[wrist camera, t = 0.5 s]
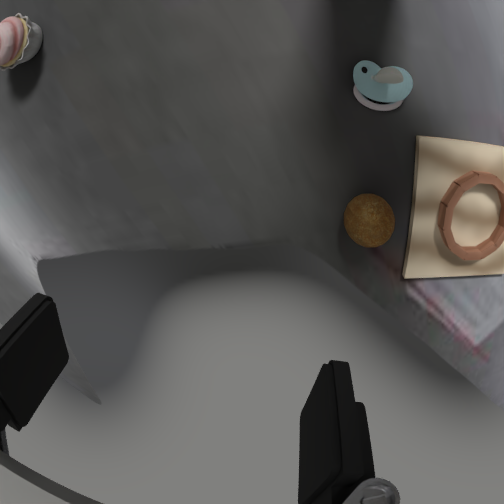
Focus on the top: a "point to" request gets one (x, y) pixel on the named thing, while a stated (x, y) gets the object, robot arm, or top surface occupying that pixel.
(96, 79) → the top surface
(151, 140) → the top surface
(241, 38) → the top surface
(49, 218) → the top surface
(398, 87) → the pacifier
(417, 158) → the ring board
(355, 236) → the fruit
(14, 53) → the cupcake
